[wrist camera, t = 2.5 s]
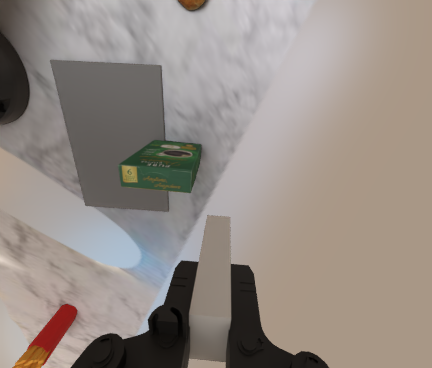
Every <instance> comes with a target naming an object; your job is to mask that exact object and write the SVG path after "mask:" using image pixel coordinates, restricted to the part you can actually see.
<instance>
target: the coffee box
mask: <svg viewBox="0 0 432 368" xmlns="http://www.w3.org/2000/svg"><path fill="white" fill-rule="evenodd" d="M200 159H201V144H193V143H181V142H172V141H161V140H153V141H151V142H150V143H149V144H147V145H146V146H144V147H143V148H142V149H140V150H139V151H137V152H136V153H134V154H133V155H131V156H130V157H128V158H127V159H126V160H124V161H123V162H121V163H120V164H118V170H119V176H120V182H121V187H129V188H140V189H151V190H162V191H173V192H184V193H191V191H192V187H193V184H194V181H195V178H196V174H197V171H198V168H199V164H200Z"/></svg>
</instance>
